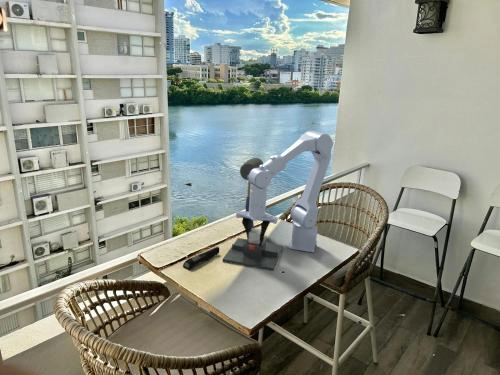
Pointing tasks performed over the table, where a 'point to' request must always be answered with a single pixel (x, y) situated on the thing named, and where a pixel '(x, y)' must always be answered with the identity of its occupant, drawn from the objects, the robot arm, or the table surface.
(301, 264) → the table surface
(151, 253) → the table surface
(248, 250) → the stand base
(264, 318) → the table surface
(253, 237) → the column
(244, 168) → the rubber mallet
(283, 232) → the table surface
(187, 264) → the electric trimmer
